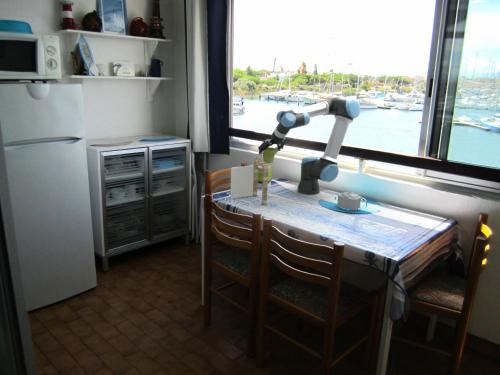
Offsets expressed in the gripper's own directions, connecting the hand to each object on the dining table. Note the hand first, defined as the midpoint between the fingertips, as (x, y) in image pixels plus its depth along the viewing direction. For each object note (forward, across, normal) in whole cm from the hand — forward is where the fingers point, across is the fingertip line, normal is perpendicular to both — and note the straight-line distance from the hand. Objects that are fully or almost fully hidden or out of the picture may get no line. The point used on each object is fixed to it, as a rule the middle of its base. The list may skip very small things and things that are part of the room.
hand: (266, 155), depth 256 cm
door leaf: (+17, -18, -18) cm, 30 cm away
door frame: (+11, -9, -25) cm, 29 cm away
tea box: (+31, +4, -6) cm, 32 cm away
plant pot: (+1, 0, -5) cm, 5 cm away
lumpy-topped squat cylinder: (-11, +32, -49) cm, 60 cm away
